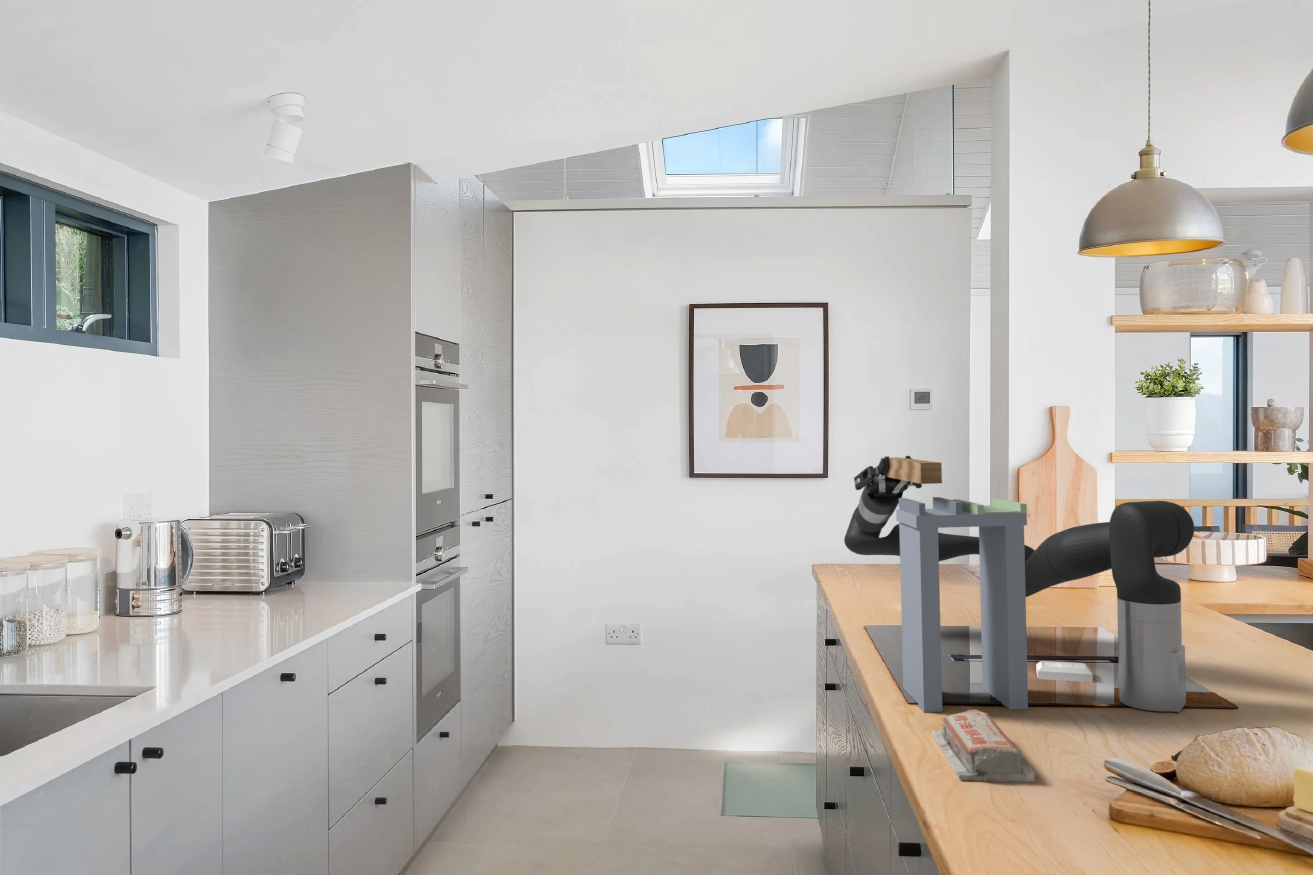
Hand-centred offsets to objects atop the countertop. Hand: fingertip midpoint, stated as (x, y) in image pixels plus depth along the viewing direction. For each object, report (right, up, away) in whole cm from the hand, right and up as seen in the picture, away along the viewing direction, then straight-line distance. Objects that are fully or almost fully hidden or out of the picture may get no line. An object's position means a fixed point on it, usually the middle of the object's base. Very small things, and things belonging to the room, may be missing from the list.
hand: (898, 460), depth 171 cm
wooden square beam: (0, -3, -7) cm, 7 cm away
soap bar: (+29, -40, -7) cm, 50 cm away
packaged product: (0, -41, -45) cm, 61 cm away
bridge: (+6, -40, -19) cm, 45 cm away
